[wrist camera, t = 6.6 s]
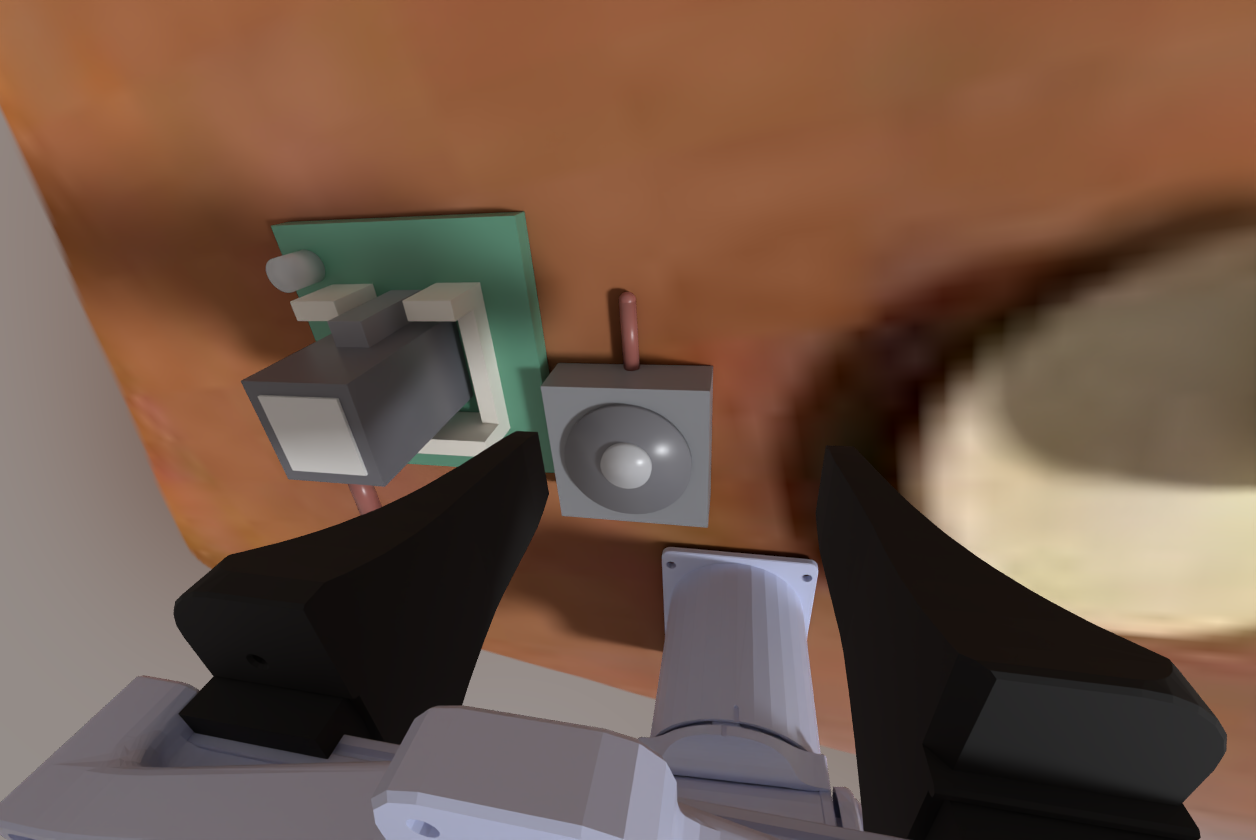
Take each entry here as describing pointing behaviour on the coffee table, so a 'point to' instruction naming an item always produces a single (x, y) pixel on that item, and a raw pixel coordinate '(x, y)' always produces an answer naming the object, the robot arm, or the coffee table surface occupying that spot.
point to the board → (436, 307)
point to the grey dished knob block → (631, 436)
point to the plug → (362, 396)
